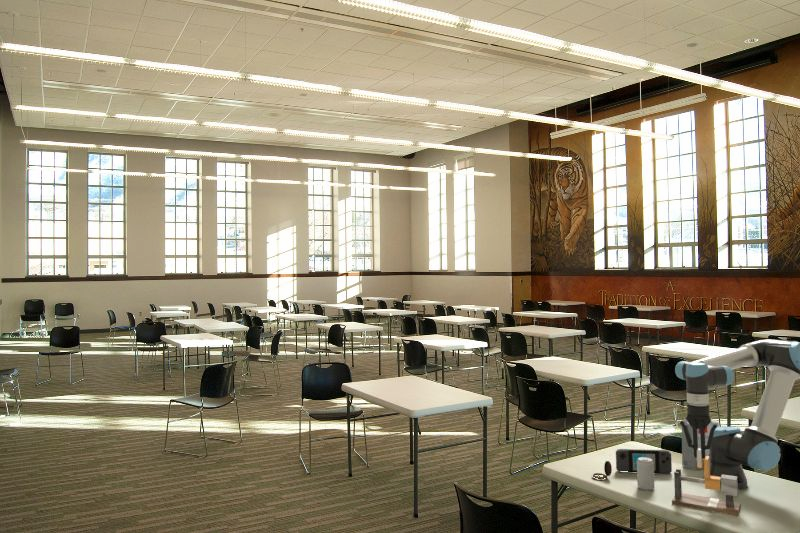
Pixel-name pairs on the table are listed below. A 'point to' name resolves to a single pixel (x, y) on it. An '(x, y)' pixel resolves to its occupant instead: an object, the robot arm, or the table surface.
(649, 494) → the table surface
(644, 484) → the beverage can
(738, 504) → the cord board
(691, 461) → the hard drive box
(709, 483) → the orange l-shaped block
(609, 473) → the compass
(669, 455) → the handheld gaming console
